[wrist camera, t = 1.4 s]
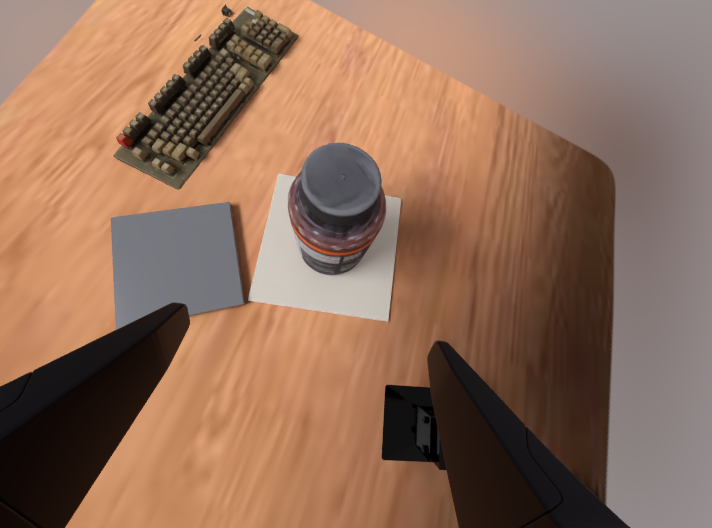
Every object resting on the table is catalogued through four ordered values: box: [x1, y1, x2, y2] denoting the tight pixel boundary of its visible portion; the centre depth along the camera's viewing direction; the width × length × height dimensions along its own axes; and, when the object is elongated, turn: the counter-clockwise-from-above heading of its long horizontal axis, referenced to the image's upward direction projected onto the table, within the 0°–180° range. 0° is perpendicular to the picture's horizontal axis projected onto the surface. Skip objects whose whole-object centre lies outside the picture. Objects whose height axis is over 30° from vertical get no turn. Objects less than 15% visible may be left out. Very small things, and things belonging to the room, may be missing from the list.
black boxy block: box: [382, 385, 447, 470], centre depth 20 cm, size 12×7×5 cm, turn 84°
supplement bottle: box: [288, 143, 386, 276], centre depth 18 cm, size 6×6×11 cm
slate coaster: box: [111, 202, 245, 330], centre depth 21 cm, size 9×9×1 cm
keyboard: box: [114, 4, 298, 189], centre depth 25 cm, size 22×9×2 cm, turn 154°
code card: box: [248, 173, 401, 322], centre depth 23 cm, size 12×12×1 cm
